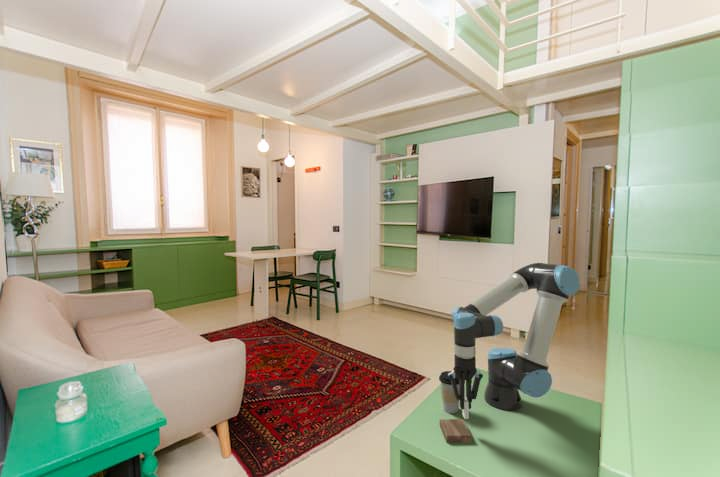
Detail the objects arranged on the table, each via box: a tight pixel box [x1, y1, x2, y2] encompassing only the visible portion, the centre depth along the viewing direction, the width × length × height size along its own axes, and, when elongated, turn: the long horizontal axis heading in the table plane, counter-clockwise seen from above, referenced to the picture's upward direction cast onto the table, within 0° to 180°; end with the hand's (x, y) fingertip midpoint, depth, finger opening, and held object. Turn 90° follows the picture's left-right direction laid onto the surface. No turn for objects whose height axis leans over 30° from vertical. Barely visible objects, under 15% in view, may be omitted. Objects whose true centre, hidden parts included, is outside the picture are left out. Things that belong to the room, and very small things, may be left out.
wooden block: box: [439, 418, 472, 444], centre depth 120 cm, size 3×10×9 cm
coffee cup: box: [438, 370, 460, 415], centre depth 136 cm, size 9×9×15 cm
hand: (465, 416), depth 120 cm, fingers closed
